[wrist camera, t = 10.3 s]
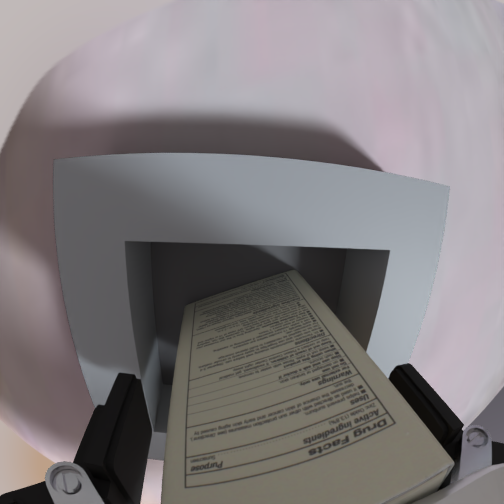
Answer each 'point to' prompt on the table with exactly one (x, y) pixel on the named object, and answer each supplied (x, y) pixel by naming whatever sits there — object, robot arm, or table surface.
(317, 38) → the table surface
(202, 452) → the skincare box
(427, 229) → the socket block
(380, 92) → the table surface
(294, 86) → the table surface
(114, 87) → the table surface
